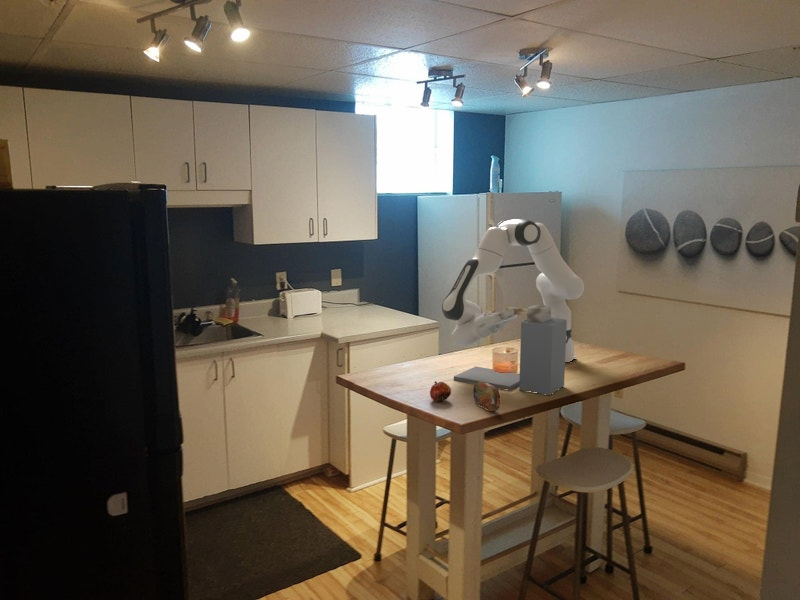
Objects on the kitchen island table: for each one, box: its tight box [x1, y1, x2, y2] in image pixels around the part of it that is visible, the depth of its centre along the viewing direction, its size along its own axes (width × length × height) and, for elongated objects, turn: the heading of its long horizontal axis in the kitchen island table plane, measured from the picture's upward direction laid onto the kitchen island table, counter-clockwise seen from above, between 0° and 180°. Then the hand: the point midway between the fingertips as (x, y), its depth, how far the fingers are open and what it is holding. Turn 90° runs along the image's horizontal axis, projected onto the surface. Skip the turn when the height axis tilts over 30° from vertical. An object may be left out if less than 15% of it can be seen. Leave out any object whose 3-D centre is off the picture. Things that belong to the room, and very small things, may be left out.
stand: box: [518, 318, 567, 396], centre depth 233 cm, size 12×14×26 cm
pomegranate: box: [429, 380, 452, 405], centre depth 219 cm, size 7×7×10 cm
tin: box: [472, 381, 501, 412], centre depth 213 cm, size 15×3×8 cm, turn 21°
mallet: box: [505, 304, 551, 323], centre depth 234 cm, size 16×8×5 cm, turn 55°
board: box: [453, 366, 520, 391], centre depth 247 cm, size 24×18×2 cm
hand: (516, 309), depth 237 cm, fingers closed on mallet, 2 cm apart
